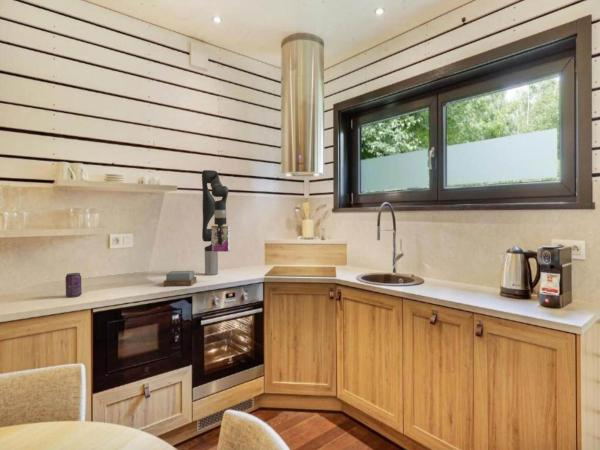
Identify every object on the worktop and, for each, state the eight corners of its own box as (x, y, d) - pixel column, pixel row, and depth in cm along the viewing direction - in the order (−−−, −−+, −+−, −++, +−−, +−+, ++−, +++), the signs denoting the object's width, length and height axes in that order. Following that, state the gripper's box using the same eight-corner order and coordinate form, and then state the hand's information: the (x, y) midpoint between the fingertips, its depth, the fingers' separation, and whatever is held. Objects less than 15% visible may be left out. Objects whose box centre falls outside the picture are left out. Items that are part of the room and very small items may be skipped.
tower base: (170, 283, 227) (170, 277, 227) (196, 282, 228) (196, 276, 228) (163, 287, 213) (163, 280, 213) (191, 287, 214) (190, 280, 214)
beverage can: (70, 295, 192) (70, 272, 191) (84, 294, 192) (83, 272, 192) (62, 297, 185) (62, 274, 184) (77, 297, 185) (76, 274, 185)
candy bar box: (211, 251, 226) (210, 225, 226) (213, 250, 231) (213, 225, 231) (228, 251, 225) (227, 225, 224) (230, 250, 230) (230, 225, 229)
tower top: (172, 277, 226) (172, 271, 226) (194, 277, 227) (194, 270, 227) (166, 280, 215) (166, 273, 215) (189, 279, 216) (189, 273, 216)
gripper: (216, 217, 234) (216, 242, 235) (212, 217, 220) (212, 244, 220) (227, 217, 235) (228, 242, 235) (224, 217, 220) (225, 244, 221)
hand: (220, 243), depth 228 cm, fingers closed on candy bar box, 5 cm apart
